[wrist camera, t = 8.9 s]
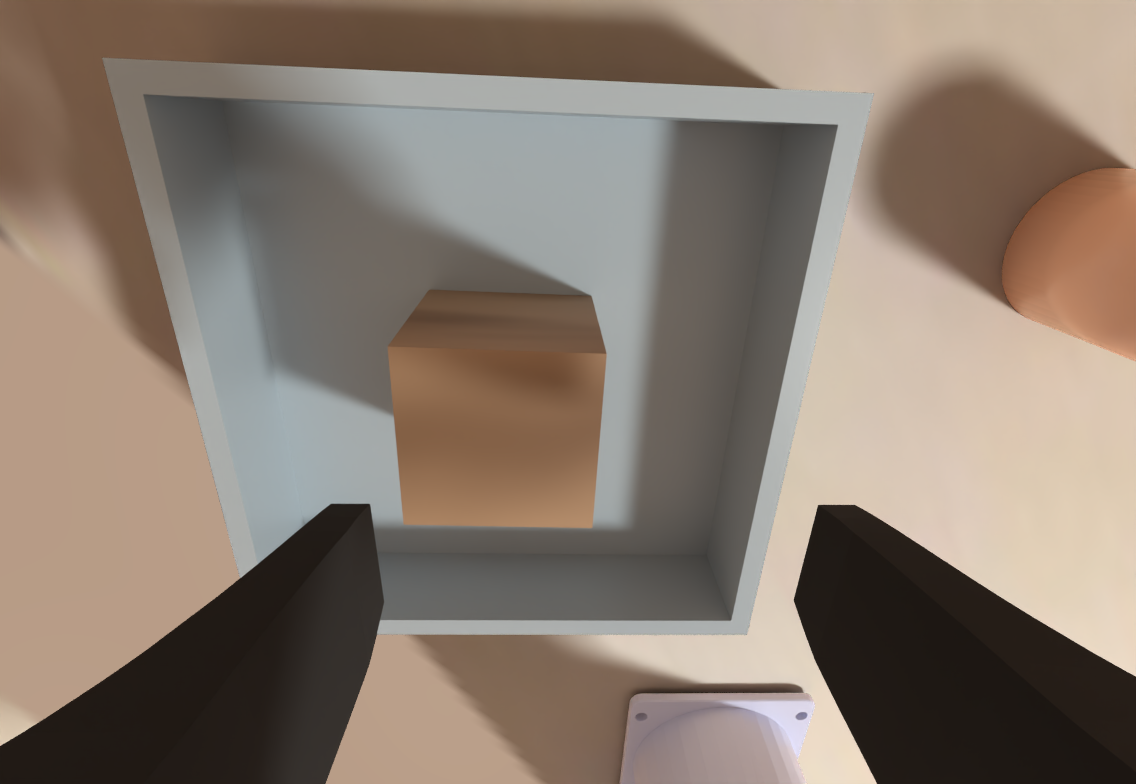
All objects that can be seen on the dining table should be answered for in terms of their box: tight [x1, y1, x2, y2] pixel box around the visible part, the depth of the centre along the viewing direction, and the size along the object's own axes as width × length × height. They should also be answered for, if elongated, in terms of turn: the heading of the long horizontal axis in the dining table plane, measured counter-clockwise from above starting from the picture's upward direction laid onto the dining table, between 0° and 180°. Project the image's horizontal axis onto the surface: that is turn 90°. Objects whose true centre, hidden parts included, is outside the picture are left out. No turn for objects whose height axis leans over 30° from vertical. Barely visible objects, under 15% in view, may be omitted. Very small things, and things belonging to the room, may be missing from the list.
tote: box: [102, 58, 874, 635], centre depth 16 cm, size 15×15×4 cm
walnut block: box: [387, 290, 607, 528], centre depth 15 cm, size 5×5×5 cm
